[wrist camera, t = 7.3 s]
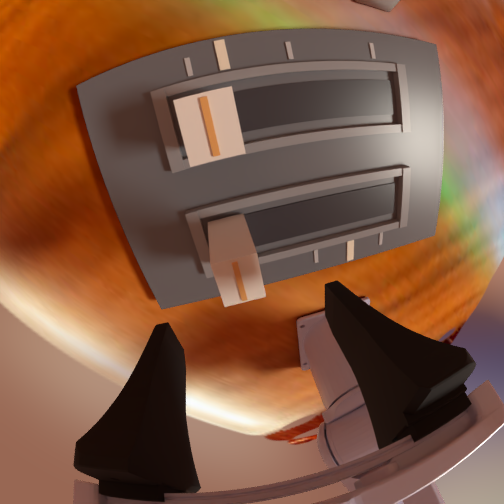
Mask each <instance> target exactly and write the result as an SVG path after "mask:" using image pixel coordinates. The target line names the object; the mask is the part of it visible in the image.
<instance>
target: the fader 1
mask: <svg viewBox="0 0 504 504" xmlns="http://www.w3.org/2000/svg"><path fill="white" fill-rule="evenodd" d="M173 102H174V106H175V110H176V114H177V118H178V122H179V126H180V130H181V134H182V137H183V141H184V145H185V149H186V153H187V156H188V160H189V164H190V167H193V166H196V165H200V164H204V163H208V162H212V161H216V160H220V159H224V158H228V157H232V156H237V155H241V154H246V152H245V147H244V142H243V138H242V133H241V128H240V123H239V118H238V114H237V109H236V104H235V99H234V95H233V90H232V86H230V87H225V88H220V89H216V90H211V91H207V92H203V93H199V94H195V95H191V96H187V97H183V98H180V99H176V100H173Z"/></svg>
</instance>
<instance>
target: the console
mask: <svg viewBox="0 0 504 504" xmlns="http://www.w3.org/2000/svg"><path fill="white" fill-rule="evenodd" d="M230 86H232V90H233V95H234V99H235V104H236V109H237V114H238V118H239V123H240V128H241V133H242V138H243V142H244V147H245V152H246V154H241V155H237V156H232V157H228V158H224V159H220V160H216V161H212V162H208V163H204V164H200V165H196V166H193V167H190V164H189V160H188V156H187V153H186V149H185V145H184V141H183V137H182V134H181V130H180V126H179V122H178V118H177V114H176V110H175V106H174V102H173V100H176V99H180V98H183V97H187V96H191V95H195V94H199V93H203V92H207V91H211V90H216V89H220V88H225V87H230ZM76 87H77V91H78V95H79V100H80V104H81V108H82V111H83V115H84V119H85V123H86V126H87V130H88V133H89V136H90V140H91V143H92V146H93V150H94V153H95V156H96V159H97V162H98V165H99V168H100V171H101V174H102V176H103V179H104V182H105V185H106V187H107V190H108V193H109V195H110V198H111V201H112V203H113V206H114V208H115V211H116V213H117V216H118V218H119V221H120V223H121V225H122V228H123V230H124V233H125V235H126V237H127V239H128V242H129V244H130V246H131V248H132V251H133V253H134V255H135V257H136V259H137V261H138V264H139V266H140V268H141V270H142V272H143V274H144V276H145V278H146V280H147V282H148V284H149V286H150V288H151V290H152V292H153V294H154V296H155V298H156V300H157V302H158V304H159V305H160V307H161V309H166V308H170V307H175V306H179V305H184V304H188V303H192V302H197V301H201V300H205V299H209V298H214V297H218V296H221V295H220V292H219V289H218V286H217V283H216V280H215V277H214V274H213V271H212V268H211V265H210V253H209V238H208V222H210V221H214V220H218V219H222V218H226V217H230V216H234V215H238V214H242V213H243V214H244V217H245V220H246V223H247V226H248V229H249V232H250V234H251V237H252V240H253V243H254V246H255V249H256V252H257V256H258V260H259V265H260V270H261V275H262V279H263V284H264V285H266V284H270V283H274V282H277V281H281V280H285V279H289V278H293V277H296V276H300V275H304V274H307V273H311V272H315V271H318V270H322V269H325V268H329V267H332V266H336V265H340V264H343V263H346V262H350V261H353V260H357V259H360V258H364V257H367V256H370V255H374V254H377V253H380V252H384V251H387V250H390V249H393V248H397V247H400V246H403V245H406V244H409V243H412V242H416V241H419V240H422V239H425V238H428V237H431V236H434V235H435V231H436V225H437V218H438V211H439V203H440V195H441V184H442V172H443V152H444V116H443V96H442V84H441V74H440V66H439V59H438V53H437V47H436V44H433V43H429V42H425V41H420V40H416V39H411V38H406V37H401V36H395V35H389V34H382V33H375V32H366V31H356V30H341V29H285V30H271V31H260V32H251V33H243V34H236V35H230V36H224V37H219V38H213V39H208V40H204V41H199V42H195V43H190V44H186V45H182V46H179V47H175V48H171V49H168V50H164V51H161V52H158V53H155V54H152V55H149V56H146V57H143V58H140V59H137V60H134V61H132V62H129V63H126V64H124V65H121V66H119V67H116V68H114V69H111V70H109V71H107V72H104V73H102V74H100V75H98V76H95V77H93V78H91V79H89V80H87V81H85V82H83V83H81V84H79V85H77V86H76Z"/></svg>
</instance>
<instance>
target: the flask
mask: <svg viewBox="0 0 504 504" xmlns="http://www.w3.org/2000/svg"><path fill="white" fill-rule="evenodd" d="M355 1H356V2H358V3H361V4H365V5H368V6H372V7H375V8H378V9H381V10H384V11H387V12H390V11H391V10H392V9H393V8H394V7H395V5H396V4H397V3H398V2H399V1H400V0H355Z"/></svg>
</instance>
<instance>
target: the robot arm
mask: <svg viewBox="0 0 504 504" xmlns="http://www.w3.org/2000/svg"><path fill="white" fill-rule="evenodd" d="M296 324H297V333H298V343H299V353H300V363H301V369H302V370H308V369H311V372H312V375H313V377H314V380H315V383H316V385H317V388H318V391H319V393H320V396H321V399H322V402H323V404H324V406H325V408H326V409H327V410H326V411H324V412H323V413H322V415H323V418H324V420H325V422H323V423H321V425H320V426H319V430H318V434H317V444H318V448H319V452H320V454H321V457H322V459H323V461H324V463H325V464H326V466H327V467H328V468H329V469H327V470H325V471H321V472H318V473H314V474H311V475H307V476H304V477H300V478H296V479H292V480H287V481H283V482H278V483H274V484H269V485H263V486H257V487H251V488H245V489H237V490H229V491H219V492H206V493H196V492H197V491H199V489H200V488H201V487H200V484H199V480H198V477H197V473H196V469H195V465H194V461H193V457H192V452H191V447H190V442H189V436H188V429H187V421H186V365H185V356H184V349H183V347H182V346H181V344H180V342H179V341H178V339H177V337H176V335H175V334H174V332H173V330H172V328H171V327H170V325H169V323H163V324H158V325H156V326H155V328H154V330H153V332H152V334H151V336H150V338H149V340H148V342H147V345H146V347H145V349H144V351H143V353H142V355H141V357H140V359H139V361H138V363H137V365H136V367H135V369H134V370H133V372H132V374H131V376H130V378H129V380H128V381H127V383H126V385H125V386H124V388H123V389H122V391H121V393H120V394H119V396H118V397H117V398H116V400H115V401H114V403H113V404H112V405H111V406H110V408H109V409H108V410H107V411H106V413H105V414H104V415H103V416H102V418H101V419H100V420H99V421H98V422H97V423H96V424H95V425H94V426H93V427H92V428H91V429H90V430H89V431H88V432H87V433H86V434H85V435H84V436H83V437H81V438H80V439H79V440H78V441H77V442H76V448H75V456H74V467H75V468H76V469H77V470H78V471H80V472H82V473H84V474H86V475H89V476H91V477H94V478H96V479H98V480H99V485H98V484H94V483H90V482H84V481H79V480H75V481H74V501H73V502H74V503H73V504H246V503H253V502H259V501H266V500H271V499H276V498H281V497H286V496H290V495H295V494H298V493H303V492H307V491H310V490H314V489H317V488H321V487H324V486H327V485H330V484H333V483H336V482H339V481H341V482H342V483H343V485H344V486H345V487H346V488H347V489H348V491H350V492H349V493H346V494H343V495H340V496H337V497H334V498H331V499H327V500H324V501H321V502H317V503H313V504H445V502H444V500H443V498H442V496H441V494H440V492H439V490H438V488H437V486H436V484H435V480H437V479H438V478H440V477H441V476H443V475H444V474H446V473H447V472H448V471H450V470H451V469H452V468H454V467H455V466H456V465H458V464H459V463H460V462H462V461H463V460H464V459H465V458H467V457H468V456H469V455H470V454H472V453H473V452H474V451H475V450H476V449H477V448H479V447H480V446H481V445H482V444H483V443H484V442H486V441H487V440H488V439H489V438H490V437H491V436H492V435H493V434H494V433H495V432H496V431H498V430H499V429H500V428H501V427H502V426H503V425H504V404H503V402H502V401H501V399H500V398H499V396H498V394H497V393H496V391H495V389H494V388H493V386H492V385H491V383H490V382H489V380H487V381H485V382H484V383H483V384H482V385H480V386H479V387H478V388H476V389H475V390H474V391H473V392H471V393H470V394H469V395H468V396H467V395H466V393H465V391H466V390H467V388H466V386H465V385H464V382H465V381H466V380H467V378H468V377H469V376H470V375H471V373H472V372H473V370H474V368H475V366H476V363H475V361H474V360H473V358H472V357H471V356H470V354H469V353H468V352H467V350H466V349H465V348H461V347H457V346H453V345H449V344H445V343H442V342H439V341H436V340H433V339H430V338H428V337H425V336H423V335H421V334H418V333H416V332H414V331H411V330H409V329H407V328H405V327H403V326H402V325H400V324H398V323H396V322H394V321H393V320H391V319H389V318H388V317H386V316H385V315H383V314H381V313H380V312H378V311H377V310H375V309H374V308H373V307H371V306H370V300H369V298H368V297H365V298H362V299H360V298H359V297H358V296H356V295H355V294H354V293H353V292H351V291H350V290H349V289H347V288H346V287H345V286H344V285H342V284H341V283H340V282H339V281H334V282H330V283H327V284H325V310H324V311H321V312H318V313H315V314H311V315H308V316H304V317H301V318H299V319H298V320H297V321H296ZM301 325H302V326H301Z"/></svg>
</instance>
